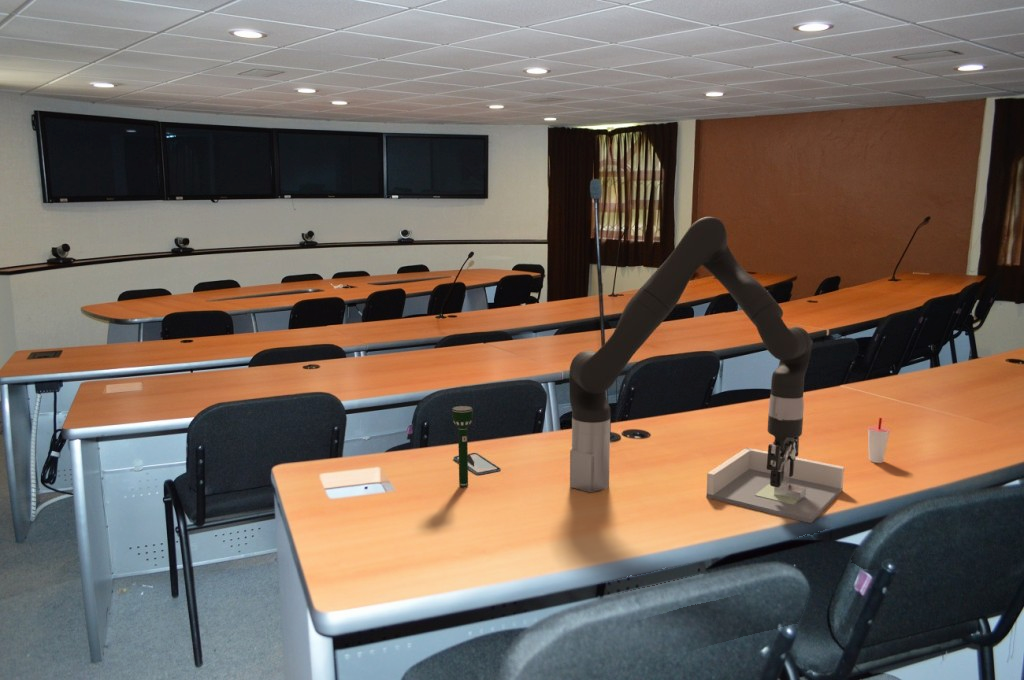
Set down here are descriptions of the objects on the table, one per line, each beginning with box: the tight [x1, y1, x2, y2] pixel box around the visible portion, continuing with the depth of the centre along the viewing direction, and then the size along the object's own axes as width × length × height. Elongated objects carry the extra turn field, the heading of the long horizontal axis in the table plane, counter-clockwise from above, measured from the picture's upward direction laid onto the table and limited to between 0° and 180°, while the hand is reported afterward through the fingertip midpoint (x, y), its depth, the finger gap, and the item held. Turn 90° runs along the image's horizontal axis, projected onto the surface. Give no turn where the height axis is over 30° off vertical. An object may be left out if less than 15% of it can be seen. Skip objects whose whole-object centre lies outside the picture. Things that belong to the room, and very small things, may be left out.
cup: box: [867, 417, 891, 464], centre depth 201 cm, size 5×5×12 cm
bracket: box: [774, 459, 806, 501], centre depth 174 cm, size 6×4×8 cm, turn 51°
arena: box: [706, 447, 845, 524], centre depth 179 cm, size 24×24×6 cm
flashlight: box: [451, 404, 474, 489], centre depth 183 cm, size 5×5×20 cm
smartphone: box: [453, 452, 502, 476], centre depth 201 cm, size 7×1×15 cm
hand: (781, 481), depth 176 cm, fingers open, 8 cm apart
